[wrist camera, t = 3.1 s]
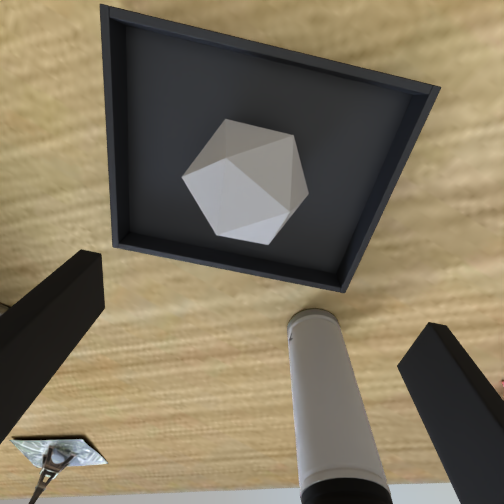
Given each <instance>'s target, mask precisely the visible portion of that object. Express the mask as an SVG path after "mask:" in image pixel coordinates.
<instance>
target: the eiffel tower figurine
mask: <svg viewBox="0 0 504 504" xmlns="http://www.w3.org/2000/svg"><path fill="white" fill-rule="evenodd" d="M10 441H11V442H12V443H13V444H14V445H15V446H16V447H17V448H18V449H19V450H20V451H21V452H22V453H23V454H24V455H25V456H26V457H27V458H28V459H29V460H30V461H31V463H32V464H33V465H34V466H35V467H37V468H39V467H42V470H41V472H40V473H39V474H41V475H40V479H39V481H38V484H37V486H36V487H35V492H34V494H33V496H32V498H31V500H30V502H29V504H34V503H35V502H36V500H37V499H38V497H39V496H40V494H41V493H42V492H43V491H44V490H45V489H46V486H47V485H48V484H49V482H50V481H51V480H52V479H53V478H54V479H55V477H56V476H57V475H58V473H59V472H61V471H62V470H63V469H64V468H65V467H67V466H84V465H95V464H107V462H106V461H105V460H104V459H103V457H102V456H101V455H100V454H99V453H97V452H96V451H95V450H94V449H92V448H91V447H90V446H88V445H87V444H86V443H85V442H84V441H83V440H82V439H76V440H70V439H61V440H10ZM45 476H48V477H50V478H49V479H48V480H47V482H46V483H45V482H43V479H44V477H45Z"/></svg>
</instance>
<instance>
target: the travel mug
mask: <svg viewBox="0 0 504 504" xmlns="http://www.w3.org/2000/svg"><path fill="white" fill-rule="evenodd" d="M287 333H288V346H289V359H290V372H291V384H292V397H293V410H294V423H295V436H296V448H297V461H298V474H299V484H300V498H301V502H302V504H393V503H392V499H391V493H390V490H389V487H388V485H387V480H386V476H385V473H384V470H383V466H382V463H381V460H380V457H379V453H378V450H377V447H376V443H375V440H374V437H373V434H372V430H371V427H370V424H369V421H368V417H367V414H366V411H365V407H364V404H363V401H362V398H361V394H360V391H359V388H358V384H357V381H356V378H355V375H354V371H353V368H352V365H351V361H350V358H349V355H348V352H347V348H346V345H345V342H344V339H343V335H342V333H341V329H340V325H339V323H338V320H337V319H336V317H335V316H334V315H332V314H331V313H329V312H327V311H325V310H321V309H308V310H304V311H301V312H299V313H297V314H296V315H295V316H294V317H293V318H292V319H291V320H290V321H289V323H288V326H287Z"/></svg>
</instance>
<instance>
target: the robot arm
mask: <svg viewBox="0 0 504 504" xmlns="http://www.w3.org/2000/svg"><path fill="white" fill-rule="evenodd" d="M104 309H105V301H104V286H103V271H102V255H101V254H100V253H96V252H91V251H86V250H80V251H78V252H77V253H76V254H75V255H74V256H72V257H71V258H70V259H69V260H68V261H66V262H65V263H64V264H63V265H61V266H60V267H59V268H58V269H57V270H55V271H54V272H53V273H52V274H51V275H49V276H48V277H47V278H46V279H44V280H43V281H42V282H41V283H40V284H38V285H37V286H36V287H35V288H34V289H32V290H31V291H30V292H29V293H28V294H26V295H25V296H24V297H23V298H21V299H20V300H19V301H18V302H17V303H15V304H14V305H13V306H12V307H11V308H9V307H7V306H4V305H1V304H0V444H1V443H2V441H3V440H4V439H5V438H6V436H7V435H8V434H9V432H10V431H11V430H12V428H13V427H14V426H15V425H16V423H17V422H18V421H19V419H20V418H21V417H22V415H23V414H24V413H25V412H26V410H27V409H28V408H29V406H30V405H31V404H32V402H33V401H34V400H35V399H36V397H37V396H38V395H39V393H40V392H41V391H42V389H43V388H44V387H45V386H46V384H47V383H48V382H49V380H50V379H51V378H52V376H53V375H54V374H55V373H56V371H57V370H58V369H59V367H60V366H61V365H62V363H63V362H64V361H65V360H66V358H67V357H68V356H69V354H70V353H71V352H72V350H73V349H74V348H75V347H76V345H77V344H78V343H79V341H80V340H81V339H82V337H83V336H84V335H85V334H86V332H87V331H88V330H89V328H90V327H91V326H92V324H93V323H94V322H95V320H96V319H97V318H98V317H99V315H100V314H101V313H102V311H103V310H104ZM397 367H398V369H399V371H400V374H401V376H402V378H403V380H404V382H405V384H406V387H407V389H408V391H409V393H410V395H411V397H412V399H413V402H414V404H415V406H416V408H417V410H418V412H419V415H420V417H421V419H422V421H423V423H424V425H425V428H426V430H427V432H428V434H429V436H430V438H431V441H432V443H433V445H434V447H435V449H436V451H437V453H438V456H439V458H440V460H441V462H442V464H443V466H444V469H445V471H446V473H447V475H448V477H449V479H450V482H451V484H452V486H453V488H454V490H455V492H456V494H457V497H458V499H459V501H460V503H461V504H504V401H503V400H502V398H501V397H500V396H499V394H498V393H497V392H496V390H495V389H494V388H493V386H492V385H491V384H490V382H489V381H488V380H487V378H486V377H485V376H484V375H483V373H482V372H481V371H480V369H479V368H478V367H477V365H476V364H475V363H474V361H473V360H472V359H471V357H470V356H469V355H468V353H467V352H466V351H465V349H464V348H463V347H462V345H461V344H460V343H459V341H458V340H457V339H456V337H455V336H454V335H453V334H452V332H451V331H450V330H449V328H448V327H447V326H446V325H441V324H436V323H431V322H428V324H427V325H426V327H425V328H424V329H423V331H422V332H421V333H420V335H419V336H418V338H417V339H416V340H415V342H414V343H413V345H412V346H411V347H410V349H409V350H408V352H407V353H406V354H405V356H404V357H403V358H402V360H401V361H400V363H399V364H398V365H397Z"/></svg>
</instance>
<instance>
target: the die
mask: <svg viewBox="0 0 504 504" xmlns="http://www.w3.org/2000/svg"><path fill="white" fill-rule="evenodd" d="M182 179H183V180H184V182H185V184H186V185H187V187H188V189H189V190H190V192H191V194H192V195H193V197H194V199H195V200H196V202H197V204H198V205H199V207H200V209H201V210H202V212H203V214H204V215H205V217H206V219H207V220H208V222H209V224H210V225H211V227H212V228H213V230H214V232H215V233H216V235H219V236H224V237H229V238H234V239H240V240H245V241H250V242H255V243H261V244H266V245H269V243H270V242H271V241H272V240H273V238H274V237H275V236H276V235H277V233H278V232H279V231H280V230H281V228H282V227H283V226H284V225H285V223H286V222H287V221H288V219H289V218H290V217H291V216H292V214H293V213H294V212H295V211H296V209H297V208H298V207H299V206H300V204H301V203H302V202H303V201H304V199H305V198H306V197H307V196H308V194H309V193H308V189H307V185H306V181H305V177H304V173H303V169H302V166H301V162H300V158H299V154H298V150H297V146H296V142H295V138H294V135H290V134H286V133H282V132H278V131H274V130H269V129H265V128H261V127H257V126H253V125H249V124H245V123H240V122H236V121H232V120H228V119H225V120H224V121H223V123H222V124H221V125H220V127H219V128H218V129H217V131H216V132H215V133H214V135H213V136H212V137H211V139H210V140H209V141H208V143H207V144H206V145H205V147H204V148H203V149H202V151H201V152H200V153H199V155H198V156H197V157H196V159H195V160H194V161H193V163H192V164H191V165H190V167H189V168H188V169H187V171H186V172H185V173H184V175H183V176H182Z"/></svg>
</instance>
